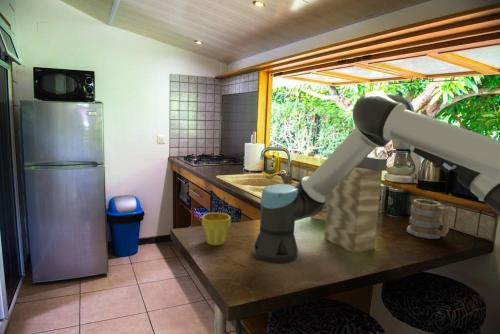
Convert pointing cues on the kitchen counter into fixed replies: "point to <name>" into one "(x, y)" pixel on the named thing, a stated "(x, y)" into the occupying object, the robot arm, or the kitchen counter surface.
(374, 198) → the zigzag striped pillar
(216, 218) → the plant pot
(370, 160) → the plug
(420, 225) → the tankard
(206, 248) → the kitchen counter surface
